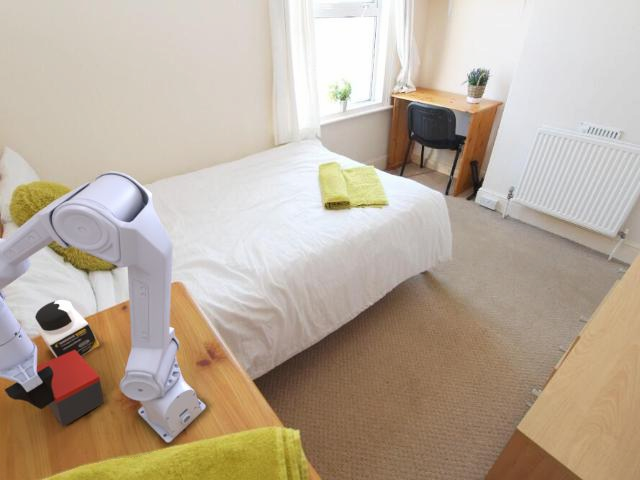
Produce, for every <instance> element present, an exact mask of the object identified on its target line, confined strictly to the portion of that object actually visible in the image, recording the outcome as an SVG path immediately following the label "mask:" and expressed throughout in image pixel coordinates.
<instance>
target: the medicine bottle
mask: <svg viewBox="0 0 640 480" xmlns="http://www.w3.org/2000/svg"><path fill="white" fill-rule="evenodd" d="M35 320H36V322H37V323H38V325H39V326H38V327H37V328H36V331H37V332H38V333H39V335H40V337H41V338H42V340H43V341H44V343H45V344H46V346H47V347H48V349H49V350H50V352H51V353H52V354H53V356H54V358H57V357H59V356H62V355H64V354H66V353H68V352H71V351H73V350H76V351H77V352H78V354H79V355H80V356H81V357H83V356H85V355H87V354H88V353H90V352H91V351H93V350H94V349H96V348H98V347H99V346H100V343H99V341H98V339H97V337H96V336H95V334H94V332H93V330H92V328H91V326H90V324H89V322H88V321H86V319H85V318H84V317H83V316H82V315H81V314H80V313H79V312H78V311H77V310H76V309H75V308H74V306H73V305H72V302H70V301H69V300H66V299H65V300H64V299H59V300H53V301H51V302H49V303H46V304H45V305H43V306H42V307H41V308H39V309H38V311H37V312H36V313H35Z"/></svg>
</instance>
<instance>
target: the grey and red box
mask: <svg viewBox="0 0 640 480" xmlns="http://www.w3.org/2000/svg"><path fill="white" fill-rule="evenodd" d="M47 366H50V367H51V369H52V370H53V373H54V376H53V378H52V389H53V393H54V401H53V402H51V403H50V404H49V405H47V406H46V407H48V409H49V410H50V411H51V413H52V414H53V416H54V417H55V418H56V420H57V422H58V423H59V425H61V427H64V426H66V425H68V424H70V423H72V422H73V421H76V420H77V419H78V418H80V417H82V416H84V415H86V414H87V413H89V412H91V411H93V410H94V409H96V408H98V407H100V406H101V405H103V404H104V397H103V390H102V385H101V378H100V377H101V376H100V375H99V374H98V373H97V372H96V371H95V370H94V369H93V367H92V366H91V365H89V363H88V362H87V361H86V360H85V359H84V358H83V356H80V355H79V354H78V352H77V351H76V350H73V351H71V352H68V353H66V354H64V355H62V356H59V357H57V358H56V357H54V358H52V359H50V360H48V361H46V362H43V363H41V364H39V365H37V372H39V371H41V370H42V369H44V368H45V367H47Z"/></svg>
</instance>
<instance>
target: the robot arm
mask: <svg viewBox="0 0 640 480" xmlns="http://www.w3.org/2000/svg"><path fill="white" fill-rule="evenodd" d="M53 242H55V243H57V244H58V245H59V246H60V247H62V248H63V249H68V248H70V247H73V248H75V249H77V250H79V251H81V252H84V253H85V254H88V255H90V256H93V257H95V258H98V259H100V260H102V261H104V262H107V263H109V264H111V265H113V266H117V267H119V268H127V279H128V283H127V284H128V299H129V300H128V301H129V302H128V303H129V322H130V343H131V348H130V352H129V356H128V358H127V362H126V365H125V369H124V371H125V373H124V376H123V377H121V380H120V382H119V390H120V391H121V393H123V395H124V396H126V397H127V398H129V399H130V400H133V401H138V402H140V403H141V405H142V406H141V407H140V408H139V409H138V410H137V413H138V415H139V416H140V417H141V418H142V419H143V420H144V421H145V422H146V423H147V424H148V425H149V426H150V427H151V428H152V430H154V431H155V432H156V433H157V434H158V435H159V436H160V437H161V439H162V440H163V441H164V442H165V443H166V444H169V443H172V441H173V440H174V439H176V437H178V435H180V434H181V433H182V432H183V431H184V430H185V429H186V428H187V427H188V426H189V425H190V424H191V423H192V422H193V421H194V420H195V419H197V417H198V416H200V415H201V414H202V412H204V411H205V410H206V408H207V406H206V404H205V403H204V402H203V401H202V400H200V399H199V398H198V395H197V392H196V391H195V390H194V389H193V388H192V387H191V385H189V384H188V383H187V382H186V380H185V379H184V377H183V373H182V370H181V368H180V366H179V363H178V357H177V353H178V351H179V349H180V341H179V339H178V338H177V336H176V333H175V332H176V331H175V330H176V329H175V328H174V327H172V326H170V325H171V303H172V301H171V300H172V296H171V295H172V274H173V273H172V272H173V249H174V248H173V243H172V240H171V238H170V236H169V234H168V233H167V231H166V228H165V226H164V225H163V222H162V221H161V219H160V217H159V216H158V214H157V211H156V209H155V208H154V200H153V193H152V192H151V191H149V190H148V189H147V188H146V187H145V186H143V185H142V184H141V183H140V182H139V181H137V179H135V178H133V177H132V176H130V175H128V174H127V173H124V172H120V171H114V170H113V171H106V172H103V173H101V174H99V176H97V177H96V178H95V180H94V181H93V182H92V183H91V182H90V181H88V182H86V183H83V184H81V185H79V186H78V187H76V188H74V189H72V190H71V191H68V192H67V193H65V194H64V195H62V196H60V197H58V198H56V199H55V200H53V201H52V202H50V203H49V204H48V205H46V206H45V207H44V208H42V209H41V210H39V211H37V212H36V213H35V214H34V215H33V216H32V217H30V218H29V219H28V220H26V221H25V222H24V223H23V224H22V225H21V226H20V227H18V228H17V229H16V230H15V231H13V232H12V233H11V234H10V235H9V236H7V237H6V238H1V237H0V378H1V379H5V380H8V381H11V382H14V383H13V384H11V385H10V386H8V387H6V388H5V389H4V391H5V393H6V395H7V396H8V397H9V398H10V399H12V400H14V401H15V400H17V401H24V402H26V403H28V404H30V405H32V406H34V408H37V409H39V410H43V409H44V408H46V407H48V406H47V405H49V404H50V403H51V402H53V401H54V393H53V389H52V378H53V376H54V373H53V370H52V369H51V367H50V366H47V367H45V368H44V369H42V370H41V371H39V372H37V366H38V346H37V345H36V343H35V342H34V341H32V340H31V339H30V337H29V336H28V334H27V333H26V331H25V329H24V328H23V327H22V325H21V324H20V323H19V321H18V319H17V318H16V316H15V314H14V313H13V312H12V310H11V309H10V307H9V306H8V305H7V303H6V302H5V300H6V297H7V295H6V293H5V292H4V290H3V289H4V288H6V287H7V286H9V285H10V284H12V283H13V282H14V281H16V280H17V279H18V278H20V277H21V276H23V275H25V274H26V273H27V272H28V271H29V269H30V266H31V257H32V256H33V255H35V254H36V253H38V252H39V251H41V250H42V249H44V248H45V247H46V246H48V245H50V244H51V243H53Z"/></svg>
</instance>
